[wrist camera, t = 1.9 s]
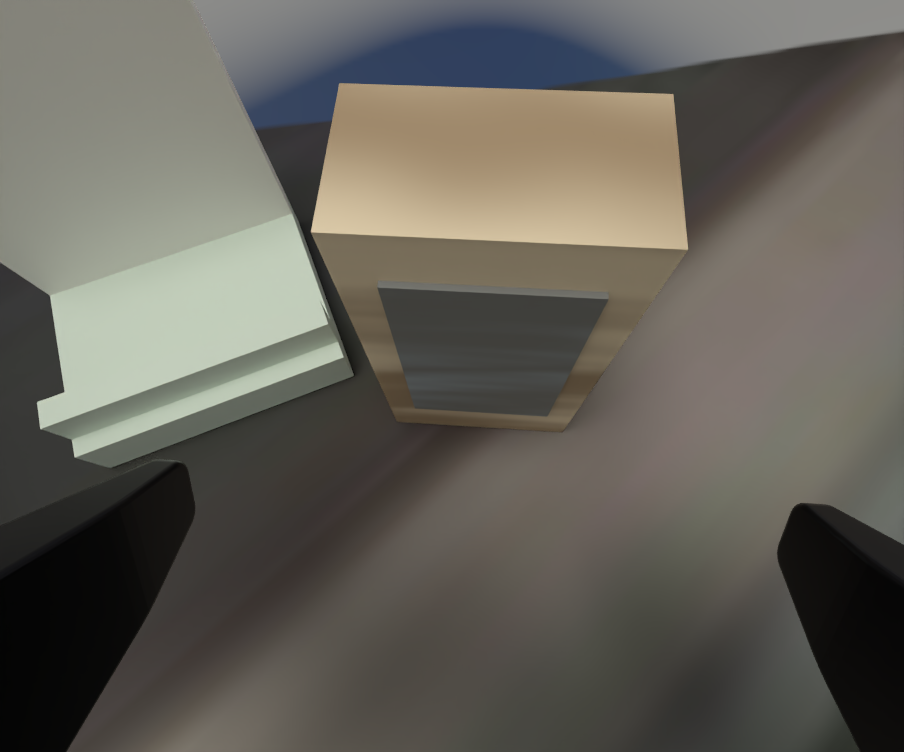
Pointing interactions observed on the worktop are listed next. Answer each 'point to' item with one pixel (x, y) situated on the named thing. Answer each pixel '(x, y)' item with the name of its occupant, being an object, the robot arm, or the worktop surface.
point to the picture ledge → (151, 228)
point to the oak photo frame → (497, 241)
